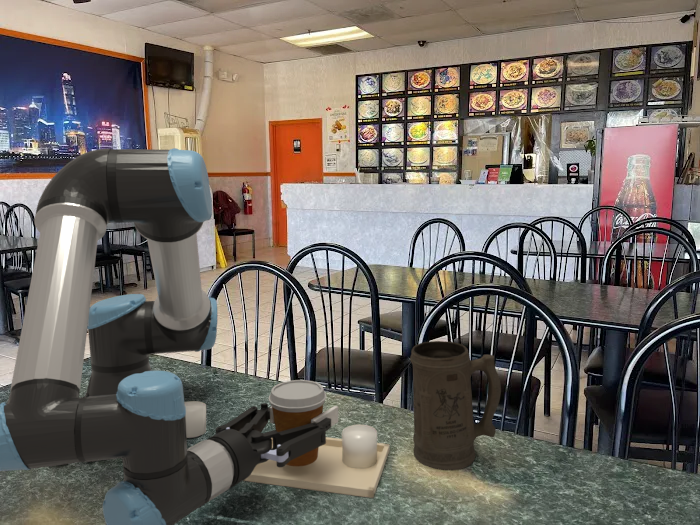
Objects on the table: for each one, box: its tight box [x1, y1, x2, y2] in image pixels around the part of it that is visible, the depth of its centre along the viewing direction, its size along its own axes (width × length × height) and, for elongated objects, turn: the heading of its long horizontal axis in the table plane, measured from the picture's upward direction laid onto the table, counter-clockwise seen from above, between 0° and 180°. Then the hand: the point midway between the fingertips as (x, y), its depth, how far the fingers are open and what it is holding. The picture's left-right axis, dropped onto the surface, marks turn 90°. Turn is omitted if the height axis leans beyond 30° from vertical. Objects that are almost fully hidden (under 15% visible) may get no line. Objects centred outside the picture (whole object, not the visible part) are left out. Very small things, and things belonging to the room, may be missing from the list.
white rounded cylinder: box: [341, 424, 378, 469], centre depth 94 cm, size 6×6×5 cm
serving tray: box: [242, 436, 391, 499], centre depth 93 cm, size 15×22×2 cm
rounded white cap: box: [184, 400, 207, 439], centre depth 106 cm, size 6×6×5 cm
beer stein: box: [409, 340, 502, 471], centre depth 95 cm, size 15×11×20 cm
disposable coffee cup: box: [268, 379, 327, 466], centre depth 91 cm, size 10×10×12 cm
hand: (315, 407), depth 95 cm, fingers closed on disposable coffee cup, 8 cm apart
